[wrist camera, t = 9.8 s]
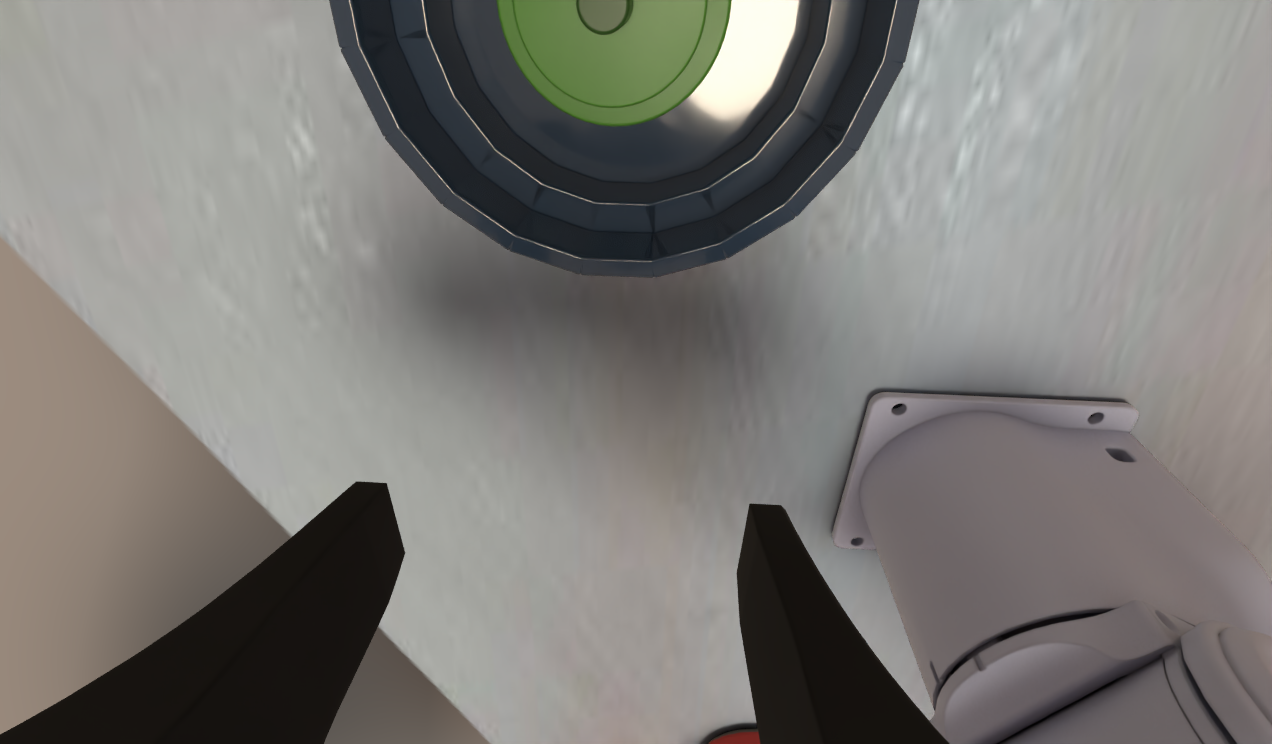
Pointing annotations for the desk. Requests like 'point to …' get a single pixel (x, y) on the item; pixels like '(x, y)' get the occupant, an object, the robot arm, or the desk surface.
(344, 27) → the bowl
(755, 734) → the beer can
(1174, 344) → the desk surface
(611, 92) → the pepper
